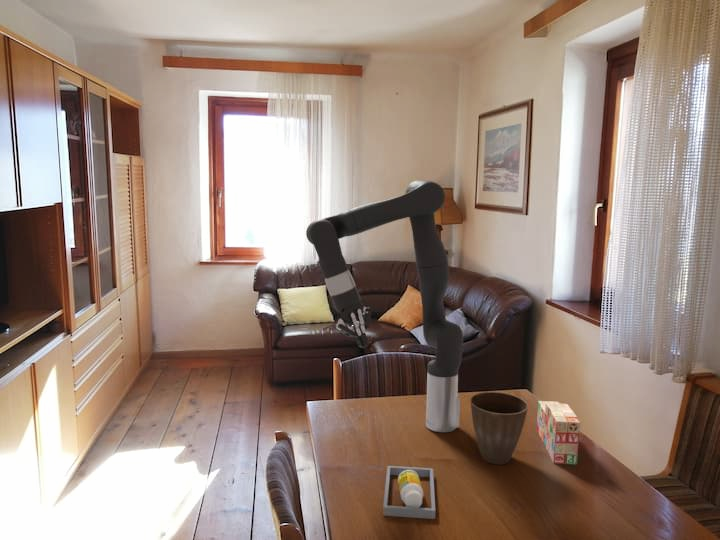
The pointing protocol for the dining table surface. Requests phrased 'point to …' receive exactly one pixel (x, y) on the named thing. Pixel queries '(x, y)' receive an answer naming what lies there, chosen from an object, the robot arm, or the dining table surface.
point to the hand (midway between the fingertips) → (364, 346)
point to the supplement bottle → (410, 488)
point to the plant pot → (497, 424)
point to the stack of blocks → (559, 431)
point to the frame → (409, 511)
